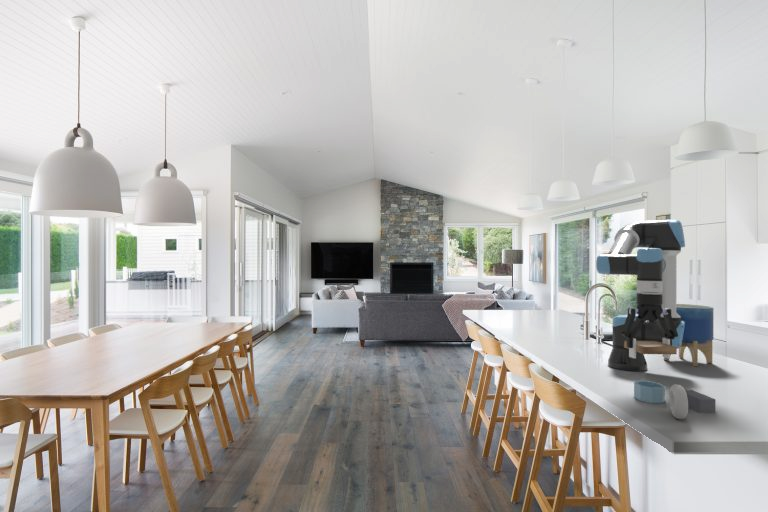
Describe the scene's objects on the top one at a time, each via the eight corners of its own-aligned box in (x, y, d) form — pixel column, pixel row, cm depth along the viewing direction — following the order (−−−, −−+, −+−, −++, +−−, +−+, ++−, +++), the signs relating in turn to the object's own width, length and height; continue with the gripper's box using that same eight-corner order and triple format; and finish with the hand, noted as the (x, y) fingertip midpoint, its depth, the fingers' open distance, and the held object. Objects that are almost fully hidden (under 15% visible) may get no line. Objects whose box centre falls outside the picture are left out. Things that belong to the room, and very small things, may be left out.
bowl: (629, 395, 151) (629, 380, 152) (653, 395, 152) (653, 380, 152) (645, 403, 143) (645, 387, 143) (669, 403, 143) (669, 387, 143)
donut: (667, 412, 135) (667, 379, 135) (680, 413, 133) (680, 381, 133) (675, 423, 125) (675, 388, 125) (689, 425, 124) (690, 390, 124)
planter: (721, 368, 191) (721, 308, 191) (671, 365, 197) (671, 307, 197) (703, 359, 209) (703, 304, 210) (657, 356, 215) (658, 303, 215)
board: (624, 347, 153) (624, 340, 153) (654, 347, 153) (654, 340, 153) (643, 354, 142) (643, 346, 142) (676, 354, 142) (676, 346, 142)
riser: (677, 401, 145) (677, 389, 145) (691, 401, 145) (691, 389, 145) (699, 412, 135) (699, 399, 135) (715, 412, 135) (715, 399, 135)
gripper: (622, 293, 144) (622, 359, 143) (691, 294, 144) (691, 360, 144) (609, 292, 151) (609, 355, 151) (675, 292, 152) (675, 355, 152)
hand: (649, 357), depth 147 cm, fingers closed on board, 11 cm apart
